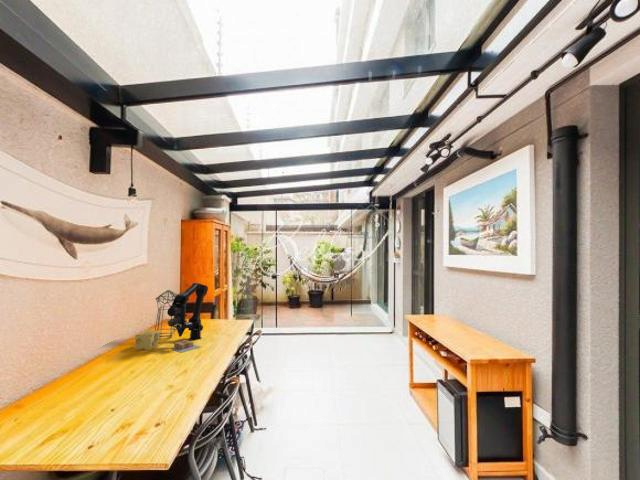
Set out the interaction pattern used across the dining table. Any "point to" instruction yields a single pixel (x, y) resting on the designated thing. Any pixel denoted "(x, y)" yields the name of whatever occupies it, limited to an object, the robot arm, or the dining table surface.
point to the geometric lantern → (163, 310)
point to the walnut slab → (183, 344)
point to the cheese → (146, 340)
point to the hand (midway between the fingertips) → (180, 336)
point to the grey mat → (186, 349)
